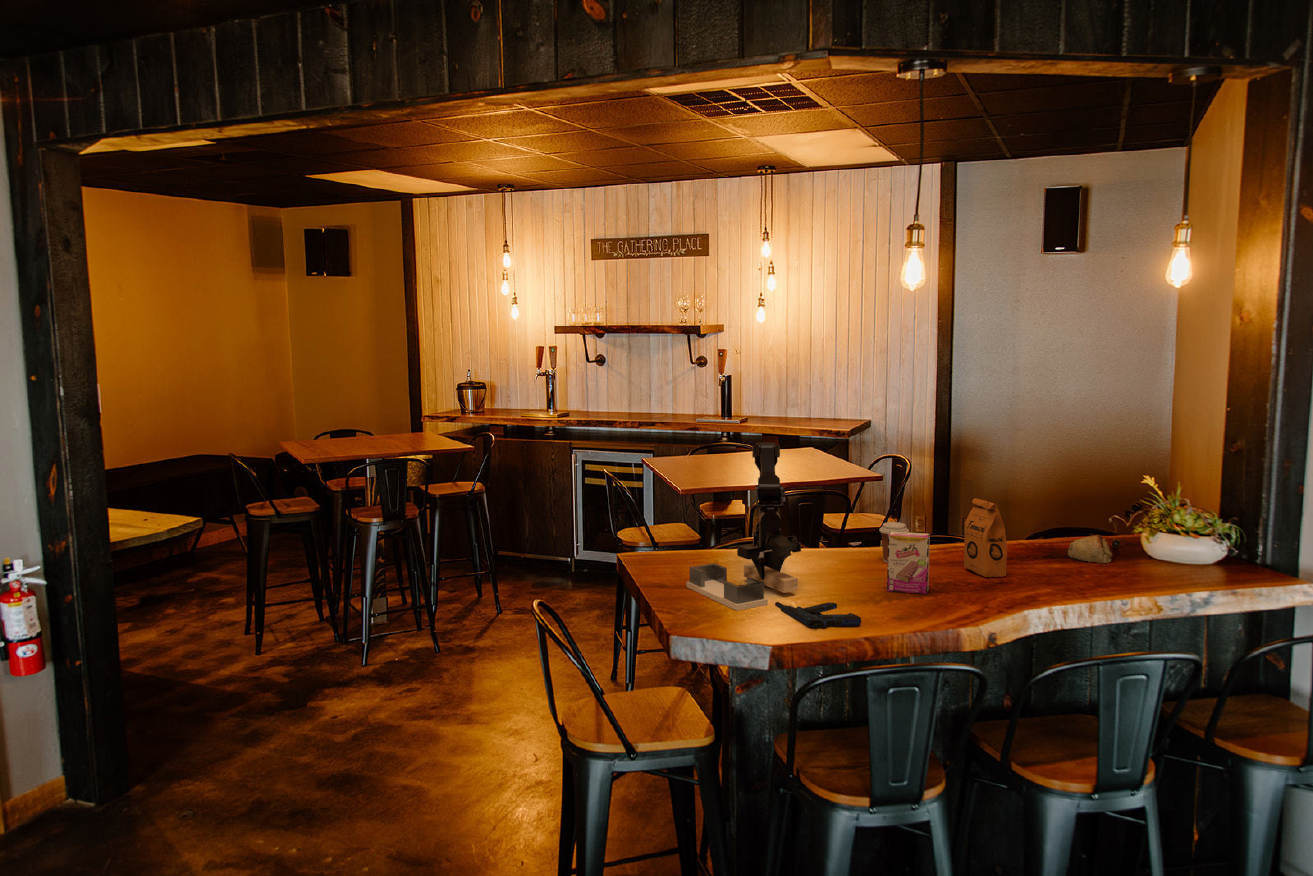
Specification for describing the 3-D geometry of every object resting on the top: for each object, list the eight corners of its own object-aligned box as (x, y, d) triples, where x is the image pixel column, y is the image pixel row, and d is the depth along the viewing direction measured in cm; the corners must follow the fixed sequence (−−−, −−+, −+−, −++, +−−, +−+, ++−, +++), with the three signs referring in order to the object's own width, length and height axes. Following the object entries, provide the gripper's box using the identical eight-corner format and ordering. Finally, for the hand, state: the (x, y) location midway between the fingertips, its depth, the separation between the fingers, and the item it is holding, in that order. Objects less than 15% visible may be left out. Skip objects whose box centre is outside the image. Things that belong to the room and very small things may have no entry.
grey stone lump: (1121, 564, 271) (1122, 538, 270) (1081, 565, 271) (1082, 539, 270) (1098, 553, 285) (1099, 529, 284) (1060, 554, 285) (1060, 529, 284)
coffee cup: (885, 556, 285) (885, 520, 284) (912, 560, 280) (913, 523, 279) (874, 562, 278) (874, 525, 277) (902, 566, 273) (903, 528, 271)
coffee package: (980, 579, 256) (982, 505, 254) (959, 569, 268) (960, 498, 266) (1012, 577, 258) (1014, 504, 255) (989, 567, 270) (991, 496, 268)
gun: (821, 604, 240) (771, 610, 235) (821, 594, 239) (771, 599, 235) (868, 627, 217) (814, 633, 212) (868, 615, 217) (814, 622, 212)
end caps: (689, 582, 254) (689, 567, 253) (714, 578, 258) (714, 563, 257) (737, 604, 232) (736, 587, 231) (763, 599, 236) (763, 582, 235)
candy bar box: (886, 592, 245) (887, 534, 244) (888, 587, 250) (888, 530, 248) (928, 595, 242) (929, 536, 240) (929, 590, 246) (929, 533, 245)
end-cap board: (686, 587, 254) (686, 581, 254) (715, 582, 259) (715, 577, 259) (736, 610, 231) (736, 605, 231) (767, 604, 235) (767, 599, 235)
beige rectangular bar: (743, 576, 259) (743, 564, 259) (756, 574, 261) (756, 562, 261) (784, 593, 242) (784, 580, 241) (797, 590, 244) (797, 578, 243)
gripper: (758, 534, 238) (758, 590, 240) (813, 526, 247) (813, 580, 249) (735, 526, 248) (736, 580, 250) (789, 519, 257) (789, 571, 258)
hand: (769, 578), depth 251 cm, fingers closed on beige rectangular bar, 4 cm apart
